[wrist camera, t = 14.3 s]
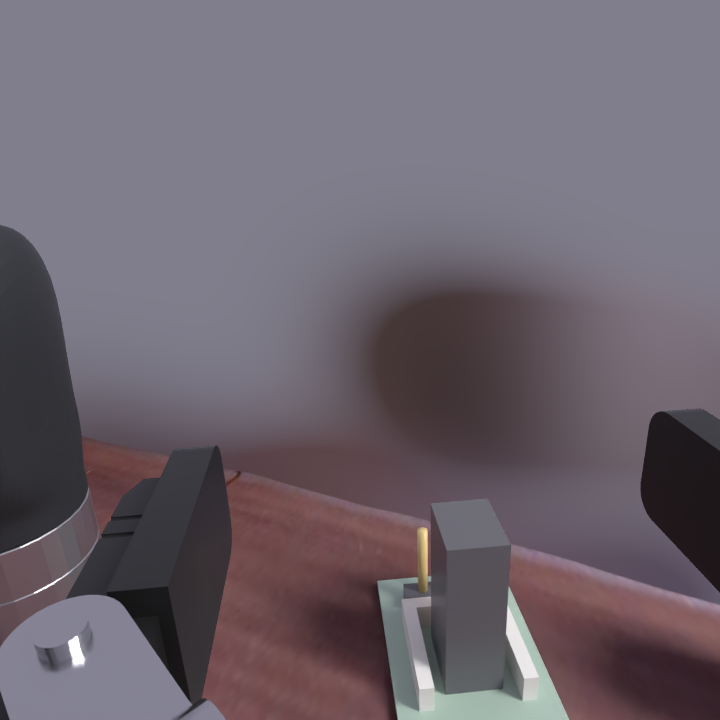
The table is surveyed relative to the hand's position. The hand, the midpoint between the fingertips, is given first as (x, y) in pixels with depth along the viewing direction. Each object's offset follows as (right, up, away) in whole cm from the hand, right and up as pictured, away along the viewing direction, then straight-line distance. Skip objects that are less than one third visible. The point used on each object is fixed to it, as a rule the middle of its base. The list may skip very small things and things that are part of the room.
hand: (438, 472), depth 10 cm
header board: (+6, -20, +32) cm, 38 cm away
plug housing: (+6, -20, +31) cm, 37 cm away
